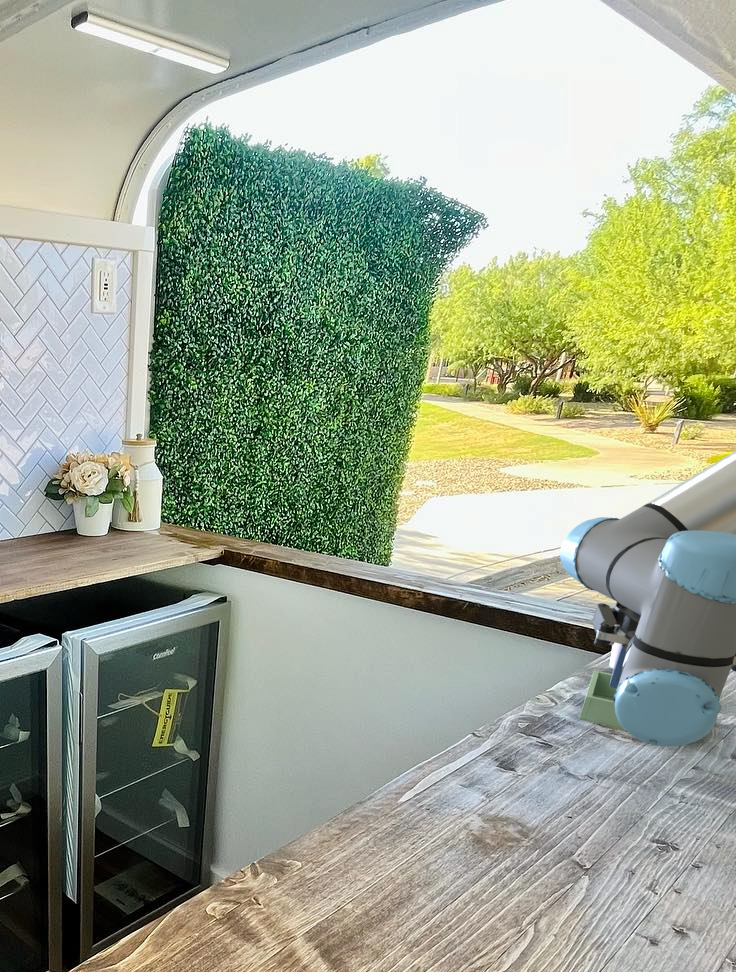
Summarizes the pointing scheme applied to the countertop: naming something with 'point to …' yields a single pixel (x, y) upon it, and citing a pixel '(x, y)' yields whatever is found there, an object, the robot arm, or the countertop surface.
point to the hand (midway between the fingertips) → (673, 609)
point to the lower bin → (600, 701)
